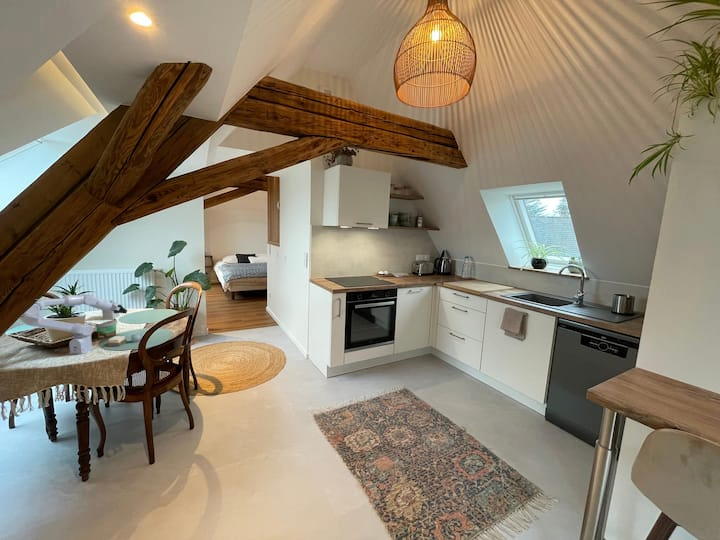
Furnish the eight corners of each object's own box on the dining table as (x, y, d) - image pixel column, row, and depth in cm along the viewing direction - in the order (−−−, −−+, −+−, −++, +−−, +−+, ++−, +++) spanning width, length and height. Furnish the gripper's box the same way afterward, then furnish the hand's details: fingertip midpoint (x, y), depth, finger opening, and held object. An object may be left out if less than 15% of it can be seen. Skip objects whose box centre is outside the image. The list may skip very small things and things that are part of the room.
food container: (104, 340, 186) (102, 325, 185) (96, 339, 187) (94, 324, 186) (123, 333, 198) (122, 319, 196) (115, 332, 199) (114, 318, 198)
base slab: (119, 347, 179) (119, 343, 179) (107, 347, 178) (107, 343, 178) (126, 342, 185) (126, 338, 185) (115, 342, 185) (115, 338, 184)
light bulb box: (109, 316, 230) (108, 302, 229) (120, 315, 232) (118, 302, 231) (102, 320, 220) (101, 306, 219) (113, 319, 222) (112, 306, 221)
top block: (118, 342, 179) (118, 339, 179) (108, 342, 178) (108, 339, 178) (124, 339, 184) (124, 336, 184) (115, 339, 184) (115, 336, 184)
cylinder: (137, 342, 185) (137, 336, 184) (130, 342, 185) (129, 336, 184) (142, 340, 189) (141, 334, 189) (134, 340, 189) (134, 334, 188)
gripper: (113, 299, 178) (133, 306, 190) (96, 296, 182) (117, 303, 194) (106, 310, 175) (127, 317, 187) (90, 307, 179) (111, 313, 191)
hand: (122, 311), depth 191 cm, fingers open, 7 cm apart
